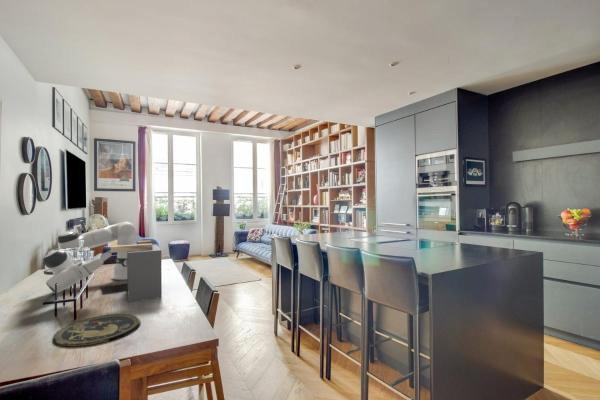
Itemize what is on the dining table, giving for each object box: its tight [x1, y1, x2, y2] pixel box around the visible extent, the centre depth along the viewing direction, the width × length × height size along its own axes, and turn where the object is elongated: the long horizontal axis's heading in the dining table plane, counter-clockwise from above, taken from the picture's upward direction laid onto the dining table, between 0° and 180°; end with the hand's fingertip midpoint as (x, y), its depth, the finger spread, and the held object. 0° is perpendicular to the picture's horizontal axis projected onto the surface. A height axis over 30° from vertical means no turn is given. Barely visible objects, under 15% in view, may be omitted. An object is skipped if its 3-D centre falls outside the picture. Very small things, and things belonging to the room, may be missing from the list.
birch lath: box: [110, 242, 154, 254], centre depth 170 cm, size 4×20×3 cm, turn 120°
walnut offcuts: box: [136, 239, 153, 244], centre depth 180 cm, size 6×8×4 cm
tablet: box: [100, 282, 128, 296], centre depth 193 cm, size 27×1×20 cm
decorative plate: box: [52, 313, 141, 348], centre depth 127 cm, size 30×2×30 cm
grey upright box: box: [126, 244, 163, 303], centre depth 179 cm, size 28×16×26 cm, turn 30°
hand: (111, 252), depth 165 cm, fingers open, 8 cm apart
